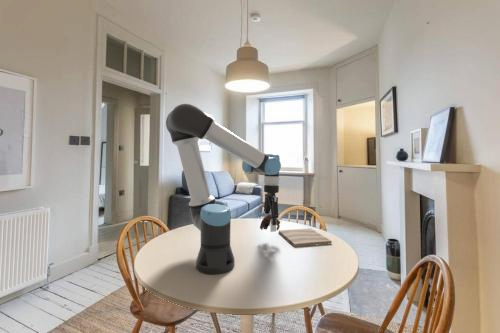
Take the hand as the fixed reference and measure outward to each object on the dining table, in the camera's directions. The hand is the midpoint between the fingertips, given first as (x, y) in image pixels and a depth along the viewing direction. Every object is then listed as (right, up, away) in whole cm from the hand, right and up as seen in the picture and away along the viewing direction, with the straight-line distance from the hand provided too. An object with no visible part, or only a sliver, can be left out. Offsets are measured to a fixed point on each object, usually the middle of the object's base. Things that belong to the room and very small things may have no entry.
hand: (270, 228), depth 121 cm
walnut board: (+18, -7, +7) cm, 21 cm away
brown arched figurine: (-1, 0, -1) cm, 1 cm away
